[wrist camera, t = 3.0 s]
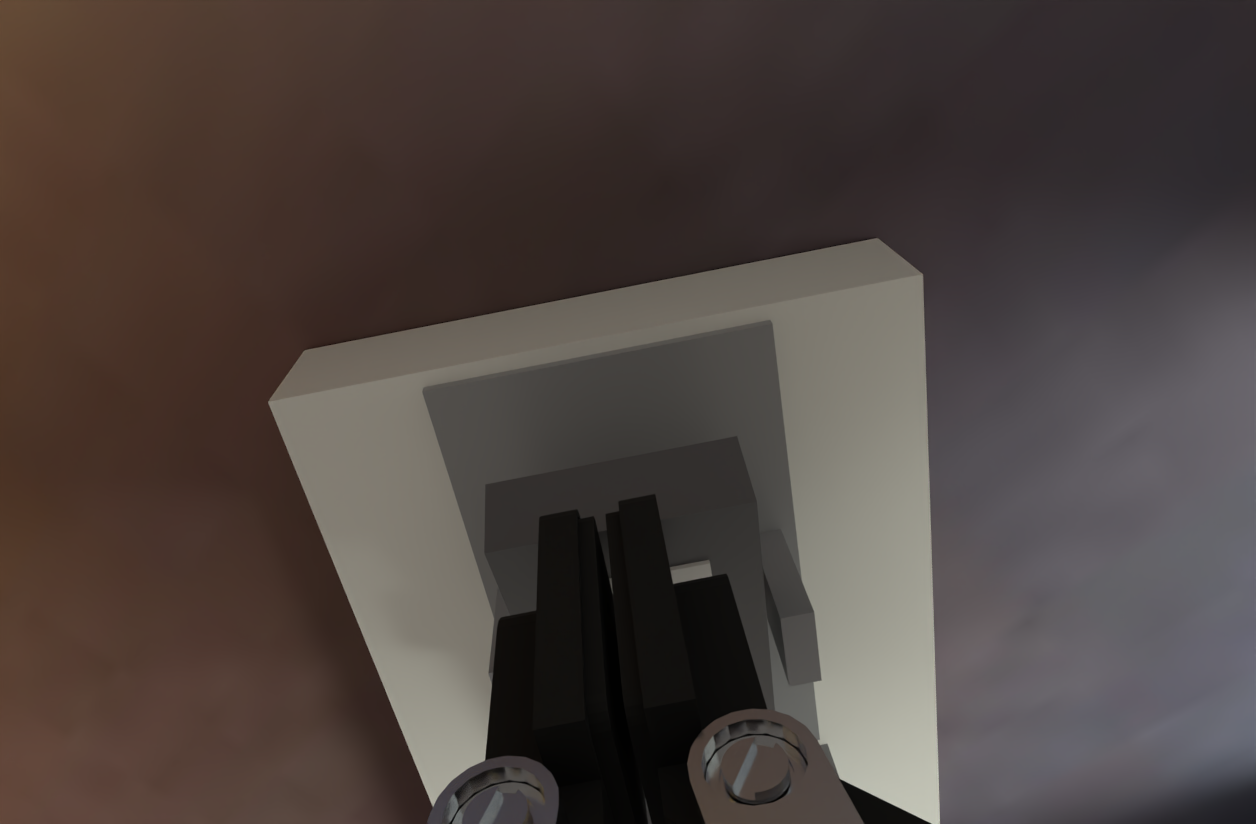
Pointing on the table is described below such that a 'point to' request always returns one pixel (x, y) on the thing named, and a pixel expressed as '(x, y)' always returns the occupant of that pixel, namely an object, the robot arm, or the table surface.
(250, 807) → the table surface
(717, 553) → the block
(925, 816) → the panel
